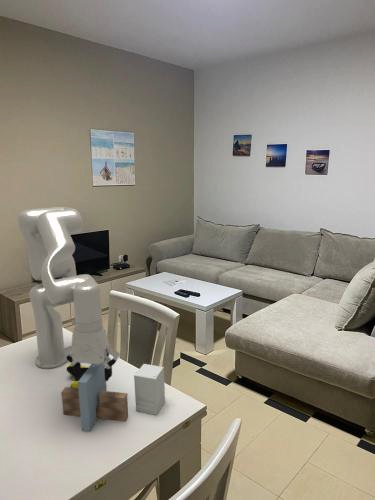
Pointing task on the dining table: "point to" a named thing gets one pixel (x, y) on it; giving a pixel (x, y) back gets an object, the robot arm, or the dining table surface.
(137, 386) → the supplement box
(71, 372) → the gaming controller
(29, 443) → the dining table surface
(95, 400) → the slate slotted plate
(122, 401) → the walnut slotted plate
